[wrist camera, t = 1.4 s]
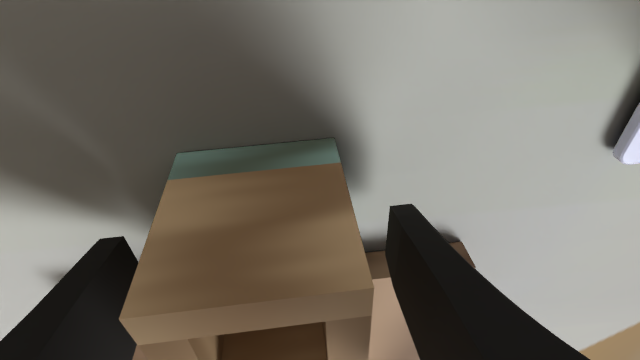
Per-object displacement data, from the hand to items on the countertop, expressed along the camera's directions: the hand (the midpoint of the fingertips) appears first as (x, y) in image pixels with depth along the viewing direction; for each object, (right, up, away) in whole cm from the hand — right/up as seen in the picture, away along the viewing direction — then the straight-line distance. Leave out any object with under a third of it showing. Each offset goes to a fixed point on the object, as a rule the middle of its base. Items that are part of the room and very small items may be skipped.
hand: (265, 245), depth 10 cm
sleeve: (0, +1, +1) cm, 2 cm away
